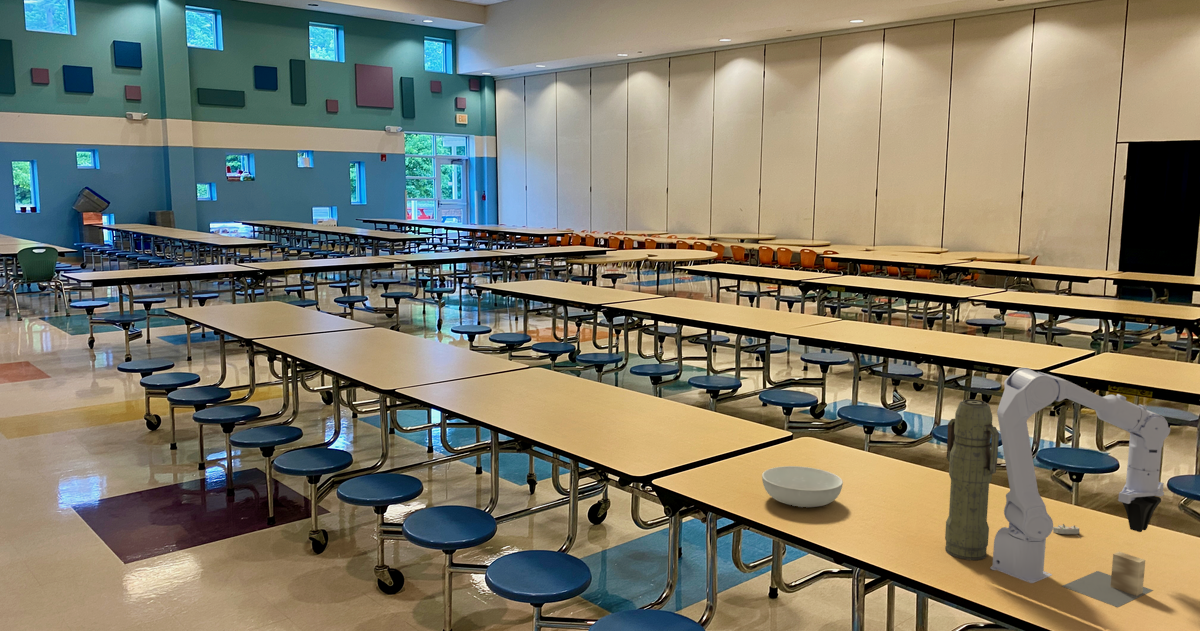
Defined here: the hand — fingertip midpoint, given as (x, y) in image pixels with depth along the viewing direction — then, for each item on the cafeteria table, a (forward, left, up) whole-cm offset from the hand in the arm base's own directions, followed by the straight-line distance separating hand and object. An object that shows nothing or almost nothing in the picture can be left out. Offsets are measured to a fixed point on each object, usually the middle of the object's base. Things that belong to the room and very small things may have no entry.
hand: (1138, 529), depth 178 cm
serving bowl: (-71, -26, -11) cm, 76 cm away
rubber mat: (0, -12, -10) cm, 16 cm away
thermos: (-27, -19, -11) cm, 35 cm away
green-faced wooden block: (+3, -10, -10) cm, 14 cm away
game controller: (-19, +11, -11) cm, 24 cm away
